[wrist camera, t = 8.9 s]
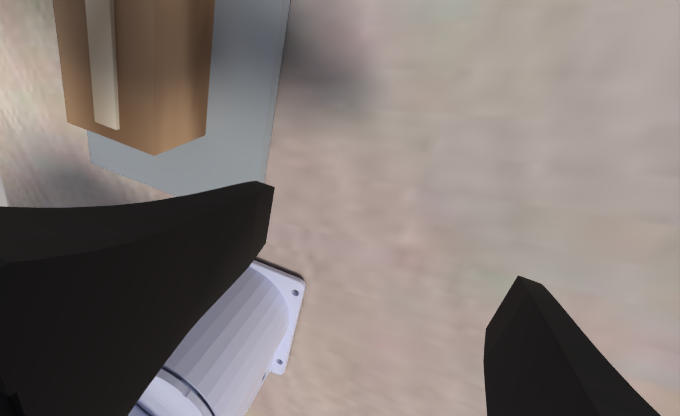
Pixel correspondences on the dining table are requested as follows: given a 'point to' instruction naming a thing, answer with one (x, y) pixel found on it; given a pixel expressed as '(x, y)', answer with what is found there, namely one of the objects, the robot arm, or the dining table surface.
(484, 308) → the dining table surface
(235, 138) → the rubber mat
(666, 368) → the dining table surface
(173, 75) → the taped cardboard box
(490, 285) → the dining table surface
